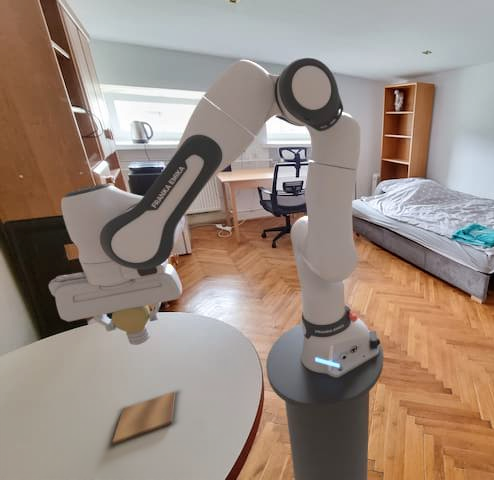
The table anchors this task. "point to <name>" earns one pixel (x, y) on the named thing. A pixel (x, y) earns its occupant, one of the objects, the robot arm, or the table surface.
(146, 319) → the light bulb
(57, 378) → the table surface
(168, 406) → the wooden board
